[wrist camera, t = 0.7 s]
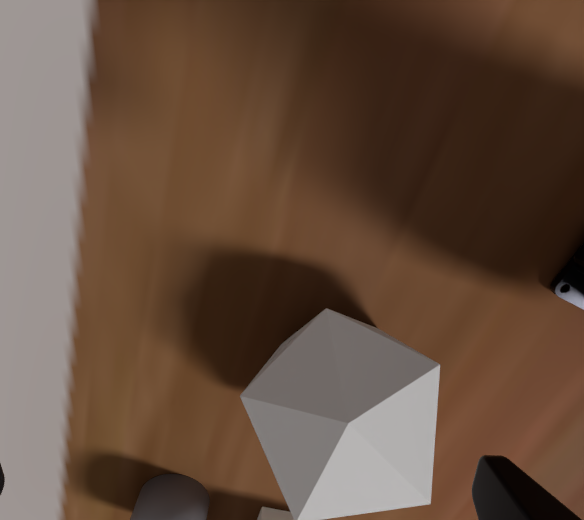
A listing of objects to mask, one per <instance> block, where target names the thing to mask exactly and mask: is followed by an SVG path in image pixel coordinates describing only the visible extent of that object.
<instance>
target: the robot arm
mask: <svg viewBox="0 0 584 520" xmlns="http://www.w3.org/2000/svg"><path fill="white" fill-rule="evenodd" d="M563 285H565V286H564V288H563V289H561V290H560V288H561V286H563ZM550 289H551V291H552V292H553V293H554V294H556V295H557V296H558V297H560V298H562V299H564V300H566V301H568V302H570V303H572V304H574V305H576V306H578V307H580V308H582V309H584V243H583V244H582V246H581V247H580V248H579V249H578V251H577V252H576V253H575V254H574V256H573V257H572V258H571V259H570V261H569V262H568V263H567V264H566V265H565V267H564V268H563V269H562V270H561V272H560V273H559V274H558V275H557V277H556V278H555V279H554V280H553V282H552V284H551V287H550ZM3 487H4V474H3V470H2V467H1V464H0V495H1V492H2V490H3ZM472 497H473V502H474V505H475V509H476V512H477V515H478V519H479V520H581V519H580V518H579V517H578V516H577V515H575V514H574V513H573V512H572V511H571V510H569V509H568V508H567V507H566V506H565V505H563V504H562V503H561V502H560V501H559V500H557V499H556V498H555V497H554V496H552V495H551V494H550V493H549V492H548V491H546V490H545V489H544V488H543V487H542V486H540V485H539V484H538V483H537V482H536V481H534V480H533V479H532V478H531V477H530V476H528V475H527V474H526V473H525V472H523V471H522V470H521V469H520V468H519V467H517V466H516V465H515V464H514V463H513V462H511V461H510V460H509V459H507V458H506V457H504V456H494V455H484V456H482V457H481V458H480V459H479V462H478V466H477V469H476V473H475V477H474V481H473V485H472Z"/></svg>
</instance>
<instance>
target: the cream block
mask: <svg viewBox="0 0 584 520" xmlns="http://www.w3.org/2000/svg"><path fill="white" fill-rule="evenodd" d="M257 520H294V519H293V516H292V514H291V512H288V511H283V510H278V509H273V508H267V507H262V508H261V510H260V513H259V516H258V518H257ZM322 520H327V519H322Z"/></svg>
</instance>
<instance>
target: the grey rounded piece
mask: <svg viewBox="0 0 584 520" xmlns="http://www.w3.org/2000/svg"><path fill="white" fill-rule="evenodd" d="M209 502H210V499H209V494H208V492H207V490H206V489H205V487H204V486H203V485H202V484H201V483H199V482H198V481H196V480H195V479H193V478H190V477H188V476H184V475H180V474H164V475H159V476H156V477H154V478H152V479H150V480H149V481H147V482H146V483H145V484H144V485H143V487H142V488H141V491H140V494H139V496H138V499H137V502H136V505H135V507H134V510H133V513H132V515H131V518H130V520H206V519H207V514H208V508H209Z"/></svg>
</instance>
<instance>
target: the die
mask: <svg viewBox="0 0 584 520" xmlns="http://www.w3.org/2000/svg"><path fill="white" fill-rule="evenodd" d="M439 374H440V364H438V363H437V362H435V361H433V360H432V359H430V358H428V357H426V356H425V355H423V354H421V353H419V352H418V351H416V350H414V349H413V348H411V347H409V346H407V345H406V344H404V343H402V342H400V341H399V340H397V339H395V338H394V337H392V336H390V335H388V334H387V333H385V332H383V331H381V330H380V329H378V328H376V327H373V326H371V325H368V324H366V323H363V322H360V321H358V320H355V319H353V318H350V317H348V316H345V315H343V314H340V313H337V312H335V311H332V310H330V309H327V308H326V309H325V310H323V311H322V312H321V313H320V314H318V315H317V316H316V317H315V318H313V319H312V320H311V321H310V322H308V323H307V324H306V325H304V326H303V327H302V328H301V329H299V330H298V331H297V332H296V333H294V334H293V335H292V336H291V337H289V338H288V339H287V340H286V341H284V342H283V343H282V344H281V345H280V346H279V348H278V349H277V350H276V351H275V353H274V354H273V355H272V356H271V358H270V359H269V360H268V361H267V363H266V364H265V365H264V366H263V368H262V369H261V370H260V371H259V373H258V374H257V375H256V376H255V378H254V379H253V380H252V381H251V383H250V384H249V385H248V386H247V388H246V389H245V390H244V391H243V393H242V394H241V395H240V397H241V399H242V402H243V404H244V406H245V409H246V411H247V413H248V415H249V418H250V420H251V422H252V425H253V427H254V429H255V431H256V434H257V436H258V438H259V441H260V443H261V445H262V447H263V450H264V452H265V454H266V457H267V459H268V461H269V464H270V466H271V468H272V470H273V473H274V475H275V477H276V480H277V482H278V484H279V486H280V489H281V491H282V493H283V496H284V498H285V500H286V502H287V505H288V507H289V509H290V512H291V514H292V516H293V519H294V520H322V519H329V518H336V517H343V516H350V515H357V514H364V513H371V512H378V511H385V510H392V509H399V508H406V507H413V506H420V505H427V504H430V503H431V489H432V475H433V460H434V446H435V432H436V417H437V403H438V389H439Z"/></svg>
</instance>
